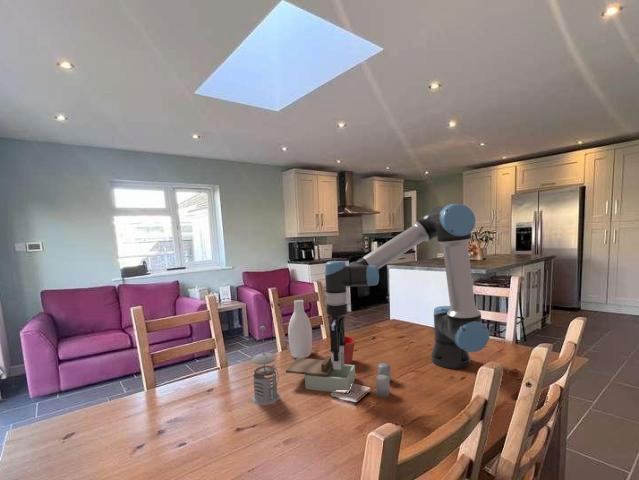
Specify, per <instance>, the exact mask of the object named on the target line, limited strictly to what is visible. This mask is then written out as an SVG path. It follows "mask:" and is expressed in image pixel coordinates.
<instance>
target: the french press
mask: <svg viewBox="0 0 639 480" xmlns="http://www.w3.org/2000/svg"><path fill="white" fill-rule="evenodd" d="M259 330H260V331H262V335H264V330H266V327H265V326H264V325H260V327H259ZM264 342H265V341H264V340H262V349H263V350H262V351H263V352H262V353H259V354H257V355H255V356H254V357H253V358H252V359H251V361H252V363H253V364H255V365H261V366H259V367H256V368H255V369H254V371H253V372H254V374H253V386H254V387H253V390H254V391H253V393H254V395H253V396H252V397H251V402H252V403H253V404H255V405H257V406H268V405H272V404H274V403H276V402H278V401H279V399H280V398H281V394H280V393H279V392H278V384H279V377H277V376H279V372H278V370H277V368H276V366H275V364H272V365H267V364H271V363H273V362H274V361H275V360H276V359H277V357H276V355H275V354H273V353H270V352H265V345H264ZM266 376H267V377H266ZM269 376H270V377H269ZM271 379H272V380H271Z"/></svg>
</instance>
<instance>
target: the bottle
mask: <svg viewBox="0 0 639 480" xmlns="http://www.w3.org/2000/svg"><path fill="white" fill-rule="evenodd" d="M312 328H313V327H312V324H311V321H310V318H309V316H308V314H306V312H305V308H304V300H303V299H297V300H296V299H295V300H293V313H292V315H291V317H290V319H289V323H288V328H287V329H288V331H287V333H288V334H287V335H288V345H289V350H290V355H291V357H292V358H295V359H297V358H306V359H308V357H310V356H311V354H312V348H313V347H312V344H313V329H312Z"/></svg>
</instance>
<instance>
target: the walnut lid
mask: <svg viewBox="0 0 639 480" xmlns="http://www.w3.org/2000/svg"><path fill="white" fill-rule="evenodd" d="M331 370H332V355H327V356H326V357H325V358H324V359H319V358H316V359H314V358H295V360H294V361H293V362H292V363H291V364H290V365H289V366H288V368H287V369H286V370H285V373H288V374H296V375H298V374H299V375H304V376H305V375H316V376H327V377H328V375H329V373H330V372H331Z"/></svg>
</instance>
